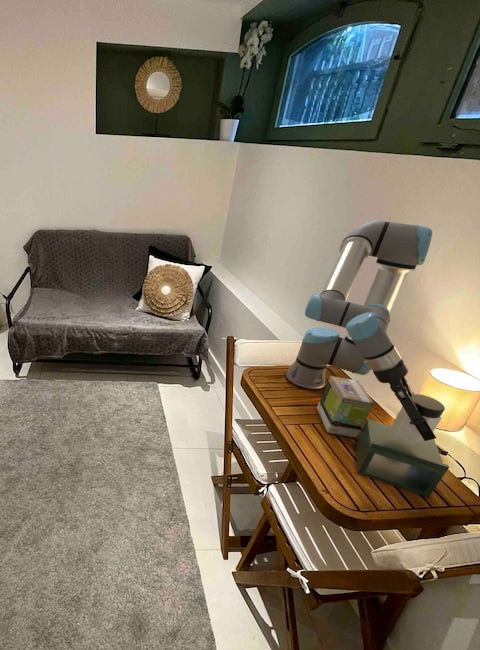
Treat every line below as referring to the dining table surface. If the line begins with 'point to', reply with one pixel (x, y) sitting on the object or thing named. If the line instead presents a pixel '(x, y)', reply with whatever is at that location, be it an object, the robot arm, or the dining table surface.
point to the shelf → (396, 467)
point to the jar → (428, 410)
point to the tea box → (344, 406)
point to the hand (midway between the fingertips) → (426, 429)
